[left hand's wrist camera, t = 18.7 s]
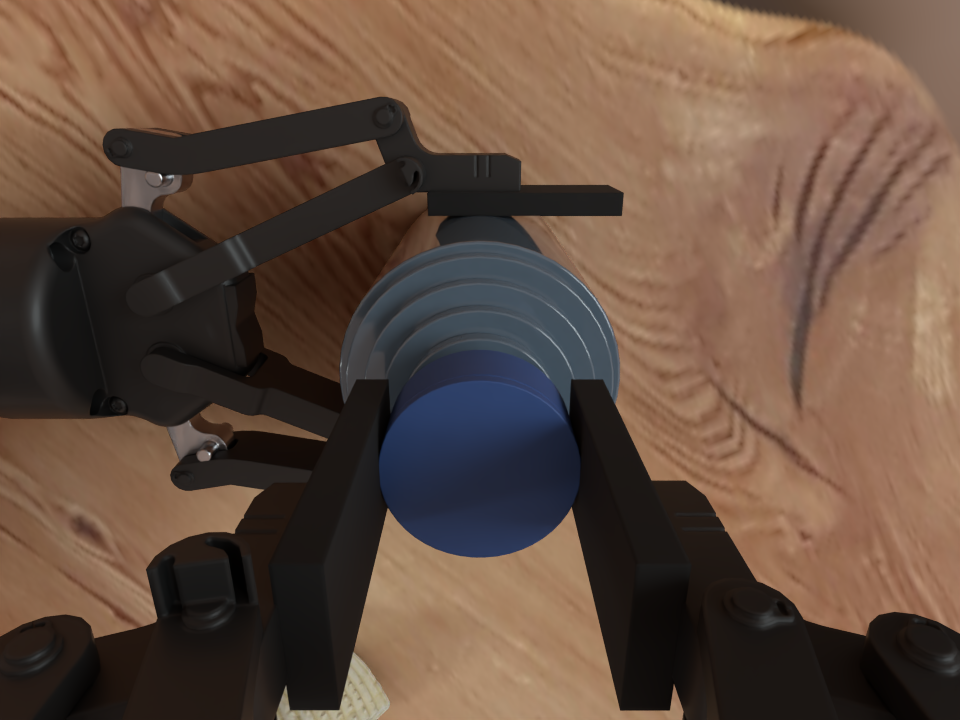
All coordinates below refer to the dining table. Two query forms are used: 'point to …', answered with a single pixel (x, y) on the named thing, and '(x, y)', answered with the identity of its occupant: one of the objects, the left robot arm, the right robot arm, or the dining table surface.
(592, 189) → the right robot arm
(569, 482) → the cap
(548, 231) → the bottle
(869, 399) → the dining table surface
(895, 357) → the dining table surface
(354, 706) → the seashell
